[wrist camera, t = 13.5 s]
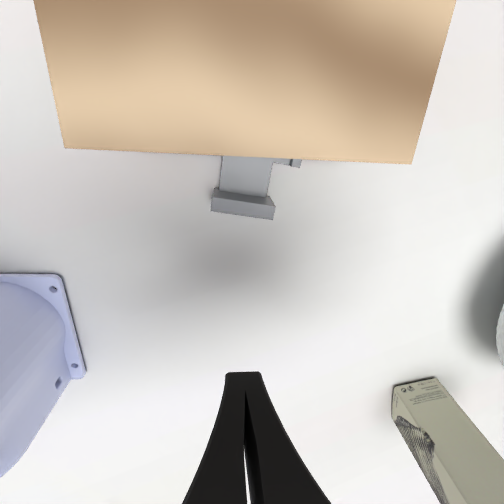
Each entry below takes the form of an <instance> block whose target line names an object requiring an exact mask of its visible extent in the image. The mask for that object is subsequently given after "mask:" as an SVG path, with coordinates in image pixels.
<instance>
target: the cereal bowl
mask: <svg viewBox="0 0 504 504" xmlns="http://www.w3.org/2000/svg"><path fill="white" fill-rule="evenodd" d="M496 339H497V342H496V345H497V348H498V355H499V357H500V361H501V363H502V365H503V366H504V305H503V307H502V311H501V312H500V317H499V319H498V326H497V335H496Z"/></svg>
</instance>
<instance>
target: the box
mask: <svg viewBox="0 0 504 504" xmlns="http://www.w3.org/2000/svg"><path fill="white" fill-rule="evenodd" d="M392 419H393V421H394V423H395V424H396V426H397V428H398V429H399V431H400V433H401V435H402V437H403V438H404V440H405V442H406V444H407V445H408V447H409V449H410V451H411V452H412V454H413V456H414V458H415V459H416V461H417V463H418V465H419V467H420V468H421V470H422V472H423V473H424V475H425V477H426V479H427V481H428V482H429V484H430V486H431V488H432V490H433V491H434V493H435V495H436V496H437V498H438V500H439V502H440V503H441V504H504V460H503V458H502V457H501V456H500V455H499V454H498V452H497V451H496V450H495V449H494V448H493V446H492V445H491V444H490V443H489V441H488V440H487V439H486V438H485V437H484V435H483V434H482V433H481V432H480V431H479V429H478V428H477V427H476V426H475V425H474V423H473V422H472V421H471V420H470V418H469V417H468V416H467V415H466V414H465V412H464V411H463V410H462V409H461V408H460V406H459V405H458V404H457V403H456V401H455V400H454V399H453V398H452V396H451V395H450V394H449V393H448V392H447V390H446V389H445V388H444V387H443V386H442V384H441V383H440V382H439V381H438V379H436V378H434V379H429V380H423V381H419V382H414V383H410V384H405V385H401V386H396V387H395V388H394V392H393V404H392Z"/></svg>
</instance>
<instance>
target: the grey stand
mask: <svg viewBox="0 0 504 504" xmlns="http://www.w3.org/2000/svg"><path fill="white" fill-rule="evenodd" d="M301 161H302V159H286V158H264V157H243V156H223V160H222V168H221V176H220V184H219V189H218V188H214V191H213V195H212V202H211V211H214V212H221V213H228V214H235V215H242V216H249V217H255V218H262V219H269V220H273V216H274V212H275V205H274V203H273V202H272V200H271V198H270V197H269V196H266V195H267V190H268V185H269V180H270V175H271V169H272V164H273V162H274V163H280V164H285V165H290V166H292V167H298V168H300V165H301Z"/></svg>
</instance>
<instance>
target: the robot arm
mask: <svg viewBox="0 0 504 504" xmlns="http://www.w3.org/2000/svg"><path fill="white" fill-rule="evenodd" d="M52 286H54V287H56V288H57V290H56V289H54V288H53V287H52ZM75 363H76V364H75ZM85 374H86V370H85V366H84V363H83V359H82V355H81V351H80V347H79V343H78V340H77V336H76V332H75V328H74V324H73V321H72V317H71V313H70V309H69V305H68V301H67V298H66V294H65V290H64V286H63V282H62V280H61V278H60V277H59V276H57V275H55V274H0V478H1V477H2V476H3V475H4V474H5V473H6V472H8V471H9V470H10V469H11V468H12V467H13V466H14V465H15V464H16V463H17V462H18V460H19V459H20V458H21V457H22V456H23V454H24V453H25V452H26V450H27V449H28V447H29V446H30V444H31V442H32V441H33V439H34V437H35V436H36V434H37V433H38V431H39V429H40V428H41V426H42V425H43V423H44V421H45V420H46V418H47V417H48V415H49V413H50V412H51V410H52V409H53V407H54V405H55V404H56V402H57V401H58V399H59V397H60V396H61V394H62V393H63V391H64V389H65V388H66V386H67V385H68V383H69V381H70V380H71V379H81V378H83V377H84V375H85ZM244 451H245V459H246V467H247V475H248V484H249V492H250V500H251V504H331V502H330V501H329V500H328V498H327V497H326V496H325V494H324V493H323V491H322V490H321V488H320V487H319V485H318V484H317V482H316V481H315V480H314V478H313V477H312V475H311V473H310V472H309V470H308V469H307V467H306V466H305V464H304V462H303V461H302V459H301V457H300V456H299V454H298V452H297V451H296V449H295V447H294V445H293V444H292V442H291V440H290V438H289V436H288V435H287V433H286V431H285V429H284V427H283V425H282V423H281V421H280V419H279V417H278V415H277V413H276V411H275V409H274V407H273V404H272V402H271V400H270V397H269V395H268V393H267V390H266V387H265V385H264V382H263V379H262V375H261V373H260V372H228V373H227V374H226V376H225V386H224V391H223V396H222V400H221V404H220V408H219V411H218V415H217V418H216V421H215V425H214V428H213V431H212V433H211V436H210V439H209V442H208V444H207V447H206V450H205V453H204V455H203V458H202V460H201V463H200V465H199V467H198V470H197V472H196V474H195V477H194V479H193V481H192V484H191V486H190V488H189V490H188V492H187V494H186V496H185V499H184V501H183V503H182V504H247V495H246V481H245V466H244Z"/></svg>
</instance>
